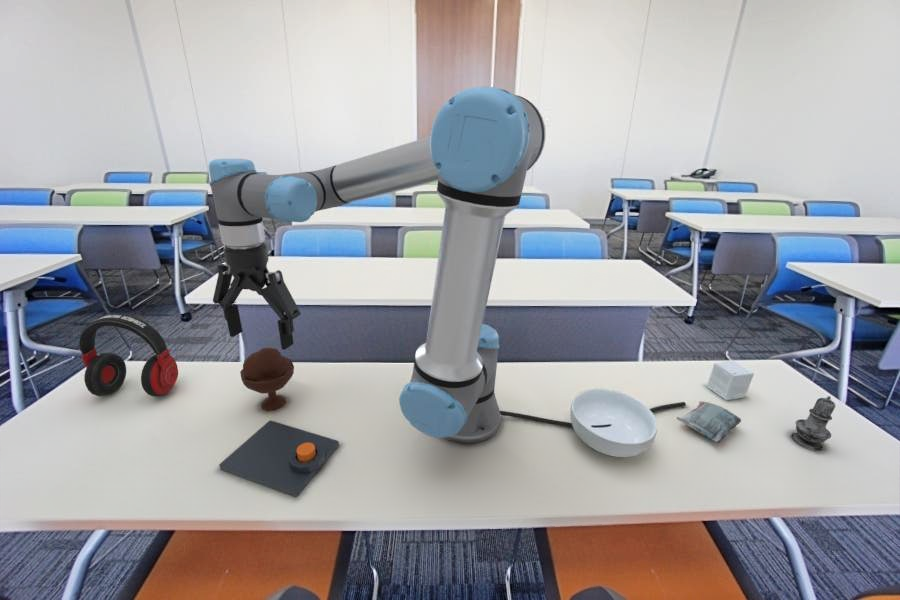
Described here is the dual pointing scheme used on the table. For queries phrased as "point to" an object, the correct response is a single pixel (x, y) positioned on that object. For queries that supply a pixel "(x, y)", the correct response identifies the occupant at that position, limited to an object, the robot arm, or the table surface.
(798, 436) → the grey chess piece
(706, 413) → the packaged food
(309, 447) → the button
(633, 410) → the cereal bowl
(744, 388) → the product box
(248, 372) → the ice cream bowl
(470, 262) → the robot arm
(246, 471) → the scale
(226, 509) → the table surface
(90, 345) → the headphones
